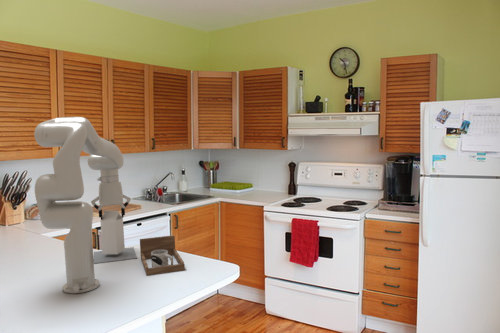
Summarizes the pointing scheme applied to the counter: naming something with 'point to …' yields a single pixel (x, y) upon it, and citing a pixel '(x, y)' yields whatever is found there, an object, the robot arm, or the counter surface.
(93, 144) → the robot arm
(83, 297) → the counter surface
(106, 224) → the milk carton
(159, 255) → the mug
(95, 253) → the slate mat
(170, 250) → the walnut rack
